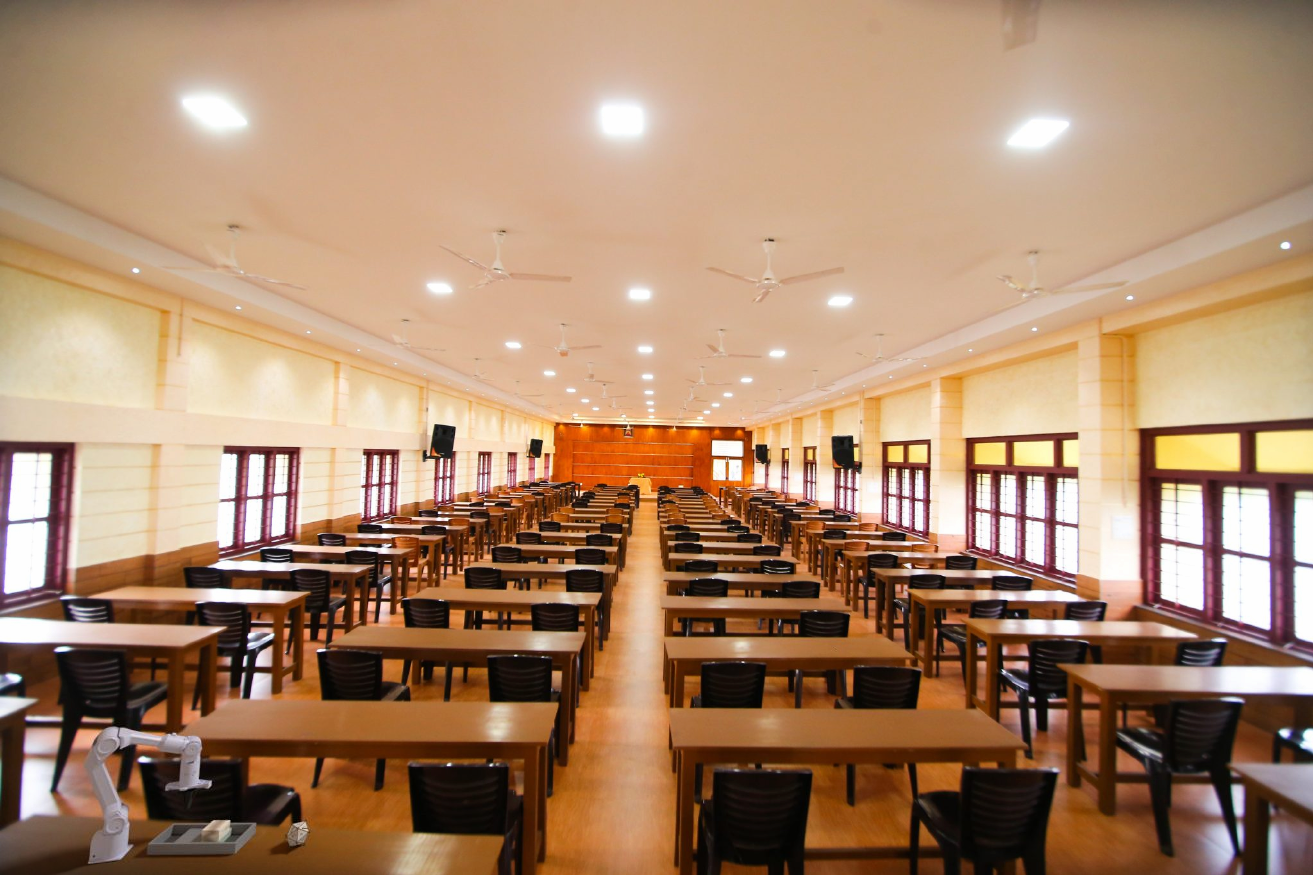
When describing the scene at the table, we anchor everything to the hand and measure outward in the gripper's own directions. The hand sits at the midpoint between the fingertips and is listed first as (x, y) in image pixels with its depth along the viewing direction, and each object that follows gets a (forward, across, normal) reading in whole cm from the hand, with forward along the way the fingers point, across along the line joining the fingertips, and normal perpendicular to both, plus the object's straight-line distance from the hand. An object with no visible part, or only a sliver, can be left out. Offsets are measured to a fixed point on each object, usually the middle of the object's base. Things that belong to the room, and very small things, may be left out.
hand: (186, 807), depth 218 cm
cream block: (+7, +14, -7) cm, 17 cm away
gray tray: (+9, +10, -7) cm, 15 cm away
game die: (+10, +43, -12) cm, 46 cm away
